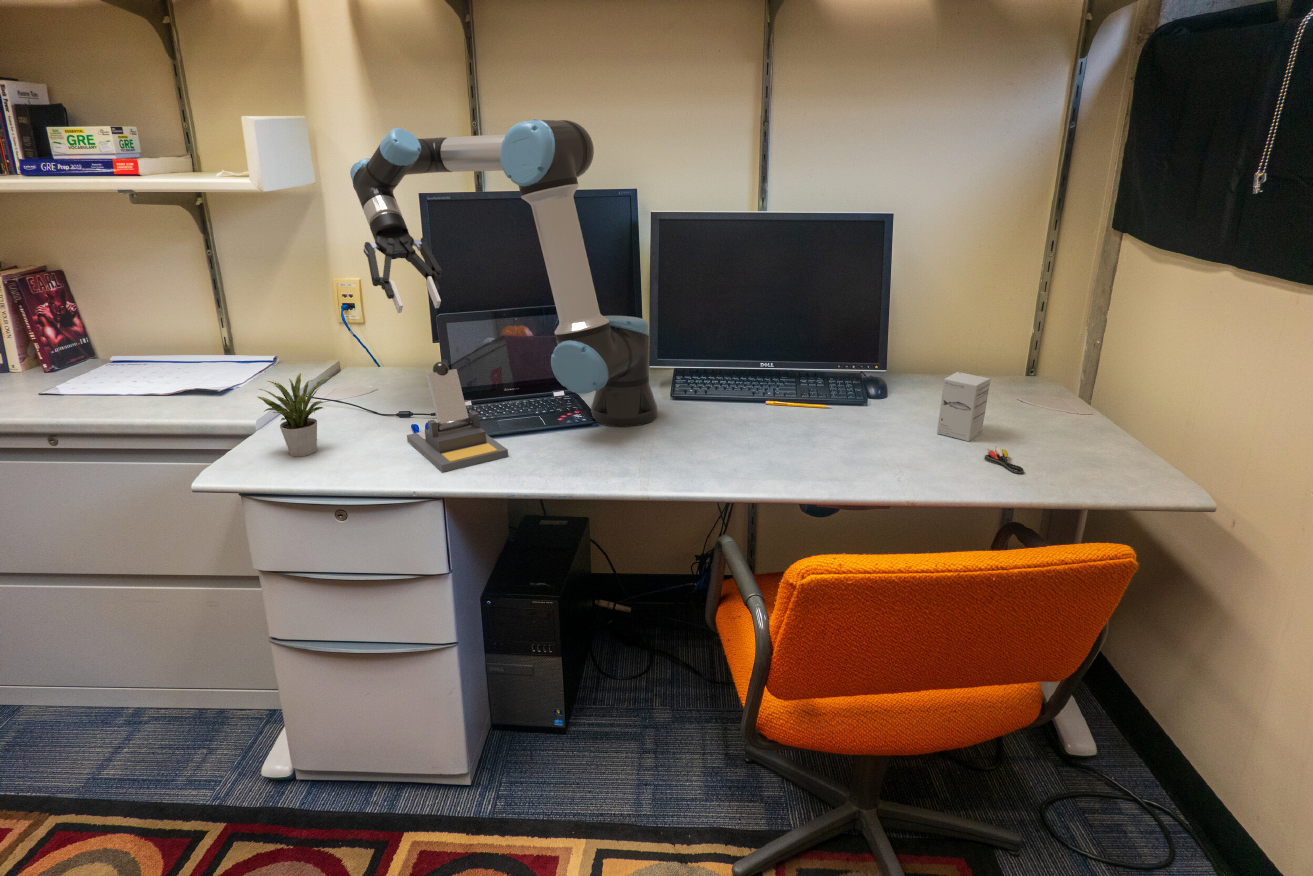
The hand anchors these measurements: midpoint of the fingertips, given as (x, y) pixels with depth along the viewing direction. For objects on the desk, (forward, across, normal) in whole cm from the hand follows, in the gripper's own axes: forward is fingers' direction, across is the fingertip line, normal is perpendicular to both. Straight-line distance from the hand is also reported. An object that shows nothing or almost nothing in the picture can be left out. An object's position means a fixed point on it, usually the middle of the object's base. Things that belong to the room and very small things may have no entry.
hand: (419, 306), depth 175 cm
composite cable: (+81, -83, +43) cm, 124 cm away
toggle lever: (+27, +1, -2) cm, 28 cm away
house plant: (+19, +27, -19) cm, 38 cm away
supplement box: (+70, -91, +32) cm, 119 cm away
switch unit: (+31, +1, -6) cm, 32 cm away
